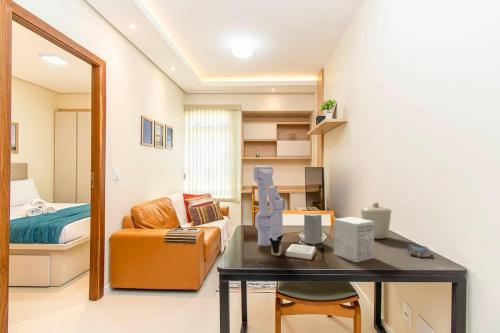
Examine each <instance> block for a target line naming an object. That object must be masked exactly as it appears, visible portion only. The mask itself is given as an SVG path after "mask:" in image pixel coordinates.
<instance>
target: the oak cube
mask: <svg viewBox="0 0 500 333" xmlns="http://www.w3.org/2000/svg"><path fill="white" fill-rule="evenodd" d="M270 247H271V248H270V249H271V250H270V251H271V252H270V254H271V255H272V256H278V257H279V256H281V255H282V253H283V252H282V244H280V245H279V251H278V253H273V248H272V245H270Z"/></svg>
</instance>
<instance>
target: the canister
mask: <svg viewBox="0 0 500 333" xmlns="http://www.w3.org/2000/svg"><path fill="white" fill-rule="evenodd" d="M359 211H360V216H361V218H360V219H365V220H370V221H374V239H378V240H379V239H381V240H382V239H385V238H387V237H388V235H389V230H390V224H391V217H392V216H391V214H392V213H393V210H391V209H390V208H389V207H385V206H380V205H379V202H377V201H375V202H372V205H365V206H362V207H360V208H359Z"/></svg>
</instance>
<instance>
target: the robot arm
mask: <svg viewBox="0 0 500 333" xmlns="http://www.w3.org/2000/svg"><path fill="white" fill-rule="evenodd" d="M273 175H274V168H273V166H272V165H255V166H254V167H253V181H255V182H256V184H257V193H258V194H257V196H258V209H259V212H257V213H256V214H255V216H254V227H255V228H256V230H257V245H258V246H260V247H268V246H272V248H273V253H278V251H279V245H280V244H281V242H282V239H283V237H284V232H283V218H284V217H283V211H284V210H285V207H286V206H285V204H286V203H285V200H284V198H282V197H281V196H280V193H279V191H278V188H277V187H276V186H275V185H274V181H273V180H274V179H273ZM268 201H269V202H268Z"/></svg>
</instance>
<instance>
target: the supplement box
mask: <svg viewBox="0 0 500 333" xmlns="http://www.w3.org/2000/svg"><path fill="white" fill-rule="evenodd" d="M333 220H334V221H333V222H334V226H333V227H334V228H333V229H334V231H333V233H334V236H333V238H334V239H333V244H334V245H333V249H334V250H333V254H334V256H338V257H340V258H343V259H346V260H348V261H350V262H353V263H359V262H363V261H368V260H371V259H374V257H375V238H374V221H370V220H365V219H362V218H359V217H354V216H347V217H339V218H334V219H333Z"/></svg>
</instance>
